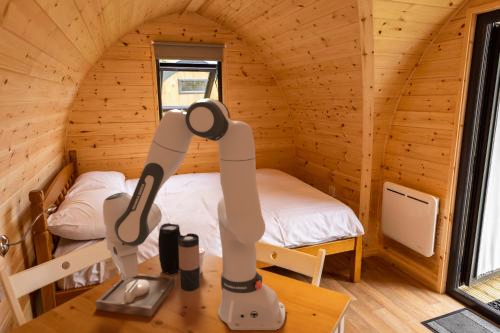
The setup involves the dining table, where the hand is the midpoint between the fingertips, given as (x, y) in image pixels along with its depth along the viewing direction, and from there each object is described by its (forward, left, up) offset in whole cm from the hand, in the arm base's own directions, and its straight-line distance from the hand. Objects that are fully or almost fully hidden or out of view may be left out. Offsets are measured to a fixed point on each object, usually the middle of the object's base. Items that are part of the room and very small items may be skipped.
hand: (125, 278), depth 115 cm
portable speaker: (-5, -26, -10) cm, 28 cm away
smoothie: (-16, -27, -10) cm, 33 cm away
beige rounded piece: (-1, -4, -8) cm, 9 cm away
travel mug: (-17, -16, -10) cm, 25 cm away
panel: (-1, -6, -10) cm, 12 cm away
